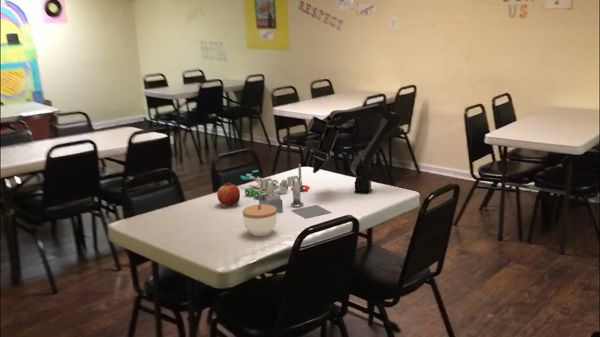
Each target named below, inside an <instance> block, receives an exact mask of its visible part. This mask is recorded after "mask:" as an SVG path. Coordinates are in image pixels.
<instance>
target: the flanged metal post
mask: <svg viewBox="0 0 600 337" xmlns="http://www.w3.org/2000/svg"><path fill="white" fill-rule="evenodd" d="M286 180H287V185H288V188H291V187H292V188H293V190H292V202H291V203H290V207H292V208H295V209H299V208H303V207H304V202H301V200H302V199H301V198H302V197H301V192H300V178H299V175H292V176H287V177H286Z"/></svg>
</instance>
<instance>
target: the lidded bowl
mask: <svg viewBox="0 0 600 337" xmlns="http://www.w3.org/2000/svg"><path fill="white" fill-rule="evenodd" d="M241 213H242V218H243V224H244V227H245V228H246V230H247V231H248V232H250V234H251V235H252V236H255V237H264V236H268V235H270V234H271V233H272V231H274V229H275V227H276V225H277V216H278V215H277V208H276V207H274V206H272V205H265V204H259V203H258V204H253V205H250V206H245V207H244V208H243V209H242V212H241Z"/></svg>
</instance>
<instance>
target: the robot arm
mask: <svg viewBox="0 0 600 337" xmlns="http://www.w3.org/2000/svg"><path fill="white" fill-rule="evenodd" d="M373 115H377V116H378V117H380V118H381V120H380V122H379V127H378V130H377V131H376V132H375V134H374V136H373V137H372V138H371V140H370V142H369V143H368V145H367V146H366V148H365V150H364V151H363V153H362V154H361V155H360V156H357V155H356V156H354V159H353V161H352V162H350V164H351V165H350V171H351V173H353V174H354V177H356V178H355V181H354V193H356V194H364V195H365V194H367V195H368V194H370V193H371V192H372V191H373V188H372V180H373V177H374V176H373V174H372V173H370V172H369V169H370V168H371V167H370V166H371V161H372V159H373V158H374V157H375V154H376V153H377V152H378V150H379V149H380V147H381V146H382V144H383V143H384V141H385V140H386V138H387V137H388V136H389V134H390V133H391V132H393V131H394V130H395V129H396V128H398V126H399V125H400V123H401V117H400V115H399V114H398V113H395V112H392V111H390V110H388V109H386V108H385V107H383V105H382V104H379V103H373V104H370V105H366V106H362V107H357V108H353V109H337V110H336V109H335V110H332V111H331V112H330V113H329V115H327V116H326V117H324V118H323V119H321V118H318V117H317V116H315V115H313V116H312V118H311V119H310V120H309V122H308V124H307V126H306V127H307V128H306V130H307V132H310V133H313V134H315V135H317V136H321V135H322V136H321V138H320V139H319V140H314V139H313V138H310V139H308V140H306V141H305V149H315V150H313V152H312V158H313V159H314V164H313V170H312V173H313V174H316V173H317V172H319V171H320V170H321V168H323V166H325V165H326V163H327V162H328V161H329V160H330V158H331V156H332V149H333V147H334V145H335V142H336V140H337V137H338V134H339V132H340V133H342V134H344V129H343V126H342V125H344V124H347V123H349V122H350V121H353V120H355V119H356V120H357V119H359V118H364V117H369V116H373Z"/></svg>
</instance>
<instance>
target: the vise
mask: <svg viewBox="0 0 600 337" xmlns="http://www.w3.org/2000/svg"><path fill="white" fill-rule="evenodd" d="M273 180H274V179H272V178H271V177H268V178H262V179H261V180H260V184H261V189H265V183H266V193H262V194H260V197H259V199H258V204H265V205H272V206H274V207H276V208H277V213H283V212H284V205H283V199H281V195H280V193H278V194H275V192H274V186H273Z"/></svg>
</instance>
